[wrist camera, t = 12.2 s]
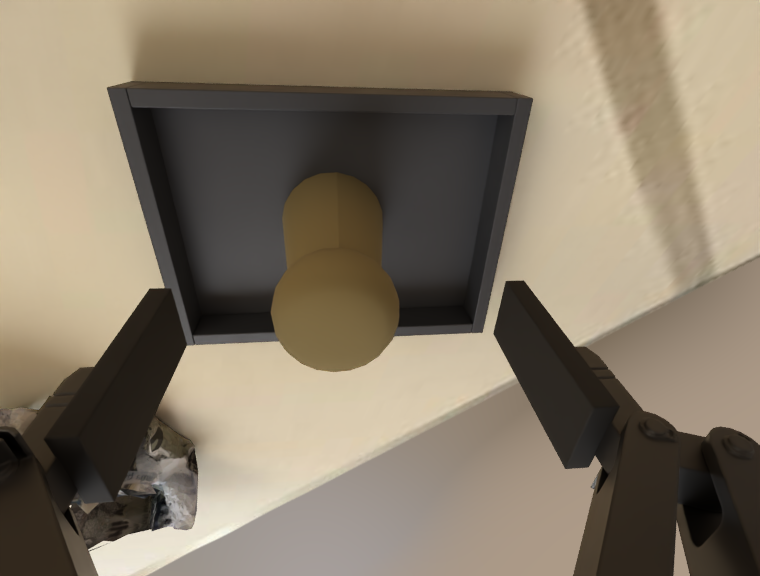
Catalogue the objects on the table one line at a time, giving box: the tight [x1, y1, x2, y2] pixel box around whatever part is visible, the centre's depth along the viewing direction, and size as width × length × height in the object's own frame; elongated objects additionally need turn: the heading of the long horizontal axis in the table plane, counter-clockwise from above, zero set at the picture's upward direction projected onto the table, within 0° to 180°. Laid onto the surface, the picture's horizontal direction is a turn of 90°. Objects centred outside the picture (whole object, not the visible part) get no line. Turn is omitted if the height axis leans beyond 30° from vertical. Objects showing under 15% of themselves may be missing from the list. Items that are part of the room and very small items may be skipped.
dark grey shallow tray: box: [107, 81, 533, 345], centre depth 24 cm, size 20×15×3 cm
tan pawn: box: [271, 172, 399, 372], centre depth 20 cm, size 6×6×11 cm
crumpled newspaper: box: [0, 396, 198, 551], centre depth 30 cm, size 12×11×15 cm
